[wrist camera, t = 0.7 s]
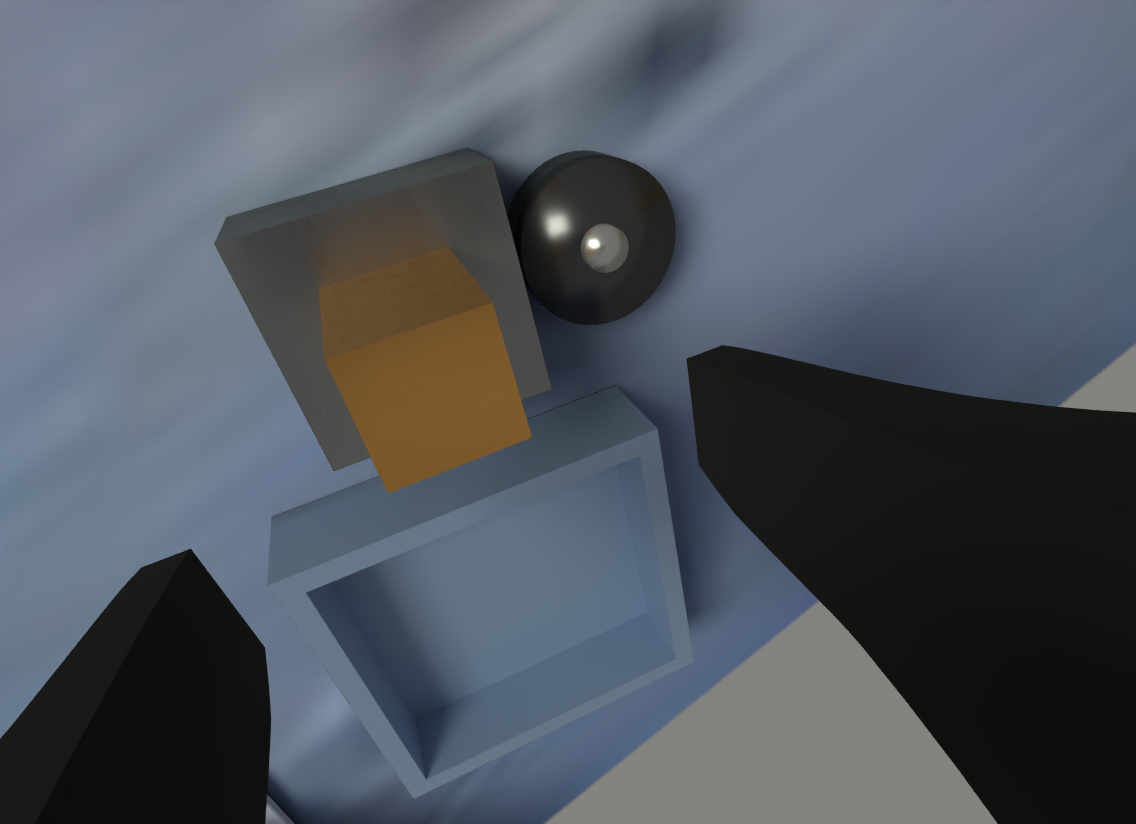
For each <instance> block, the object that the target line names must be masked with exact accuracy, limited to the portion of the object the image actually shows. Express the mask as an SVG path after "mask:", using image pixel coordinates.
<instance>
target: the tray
mask: <svg viewBox="0 0 1136 824" xmlns="http://www.w3.org/2000/svg"><path fill="white" fill-rule="evenodd" d="M527 422H528V425H529V429H530V432H531V435H532V438H530V439H527V440H524V441H522V442H519V443H517V444H514V445H512V446H509V447H506V448H504V449H501V450H499V451H496V452H494V453H491V454H489V455H486V456H483V457H481V458H478V459H476V460H473V461H471V462H468V463H465V464H463V465H460V466H458V467H455V468H453V469H450V470H447V471H445V472H442V473H440V474H437V475H435V476H432V477H429V478H427V479H424V480H422V481H419V482H417V483H414V484H411V485H409V486H406V487H404V488H401V489H399V490H396V491H394V492H391V493H388V492H387V490H386V488H385V486H384V484H383V481H382V479H381V477H380V476H378V477H376V478H373V479H370V480H368V481H365V482H362V483H360V484H357V485H355V486H352V487H349V488H347V489H344V490H342V491H339V492H336V493H334V494H331V495H329V496H326V497H323V498H321V499H318V500H315V501H313V502H310V503H308V504H305V505H302V506H300V507H297V508H295V509H292V510H289V511H287V512H284V513H282V514H279V515H276V516H274V517H272V519H271V536H270V552H269V568H268V585H267V586H268V587H269V589H270V590H271V592H272V593H273V595H274V596H275V598H276V599H277V600H278V602H279V603H280V605H281V606H282V608H283V609H284V611H285V612H286V614H287V615H288V616H289V618H290V619H291V621H292V622H293V624H294V625H295V627H296V628H297V630H298V631H299V632H300V634H301V635H302V637H303V638H304V640H305V641H306V643H307V644H308V646H309V647H310V648H311V650H312V651H313V653H314V654H315V656H316V657H317V659H318V660H319V662H320V663H321V664H322V666H323V667H324V669H325V670H326V672H327V673H328V675H329V676H330V678H331V679H332V680H333V682H334V683H335V685H336V686H337V688H338V689H339V691H340V692H341V694H342V695H343V696H344V698H345V699H346V701H347V702H348V704H349V705H350V707H351V708H352V710H353V711H354V712H355V714H356V715H357V717H358V718H359V720H360V721H361V723H362V724H363V726H364V727H365V728H366V730H367V731H368V733H369V734H370V736H371V737H372V739H373V740H374V742H375V743H376V744H377V746H378V747H379V749H380V750H381V752H382V753H383V755H384V756H385V758H386V759H387V760H388V762H389V763H390V765H391V766H392V768H393V769H394V771H395V772H396V774H397V775H398V776H399V778H400V779H401V781H402V782H403V784H404V785H405V787H406V788H407V790H408V791H409V792H410V794H411V795H412V797H413V798H414V799H415V798H417V797H419V796H421V795H423V794H425V793H427V792H429V791H431V790H433V789H435V788H437V787H439V786H441V785H443V784H445V783H447V782H449V781H451V780H453V779H456V778H458V777H460V776H462V775H464V774H466V773H468V772H470V771H472V770H474V769H476V768H478V767H480V766H482V765H484V764H486V763H488V762H490V761H492V760H494V759H496V758H499V757H501V756H503V755H505V754H507V753H509V752H511V751H513V750H515V749H517V748H519V747H521V746H523V745H525V744H527V743H529V742H531V741H533V740H535V739H537V738H539V737H542V736H544V735H546V734H548V733H550V732H552V731H554V730H556V729H558V728H560V727H562V726H564V725H566V724H568V723H570V722H572V721H574V720H576V719H578V718H580V717H582V716H584V715H587V714H589V713H591V712H593V711H595V710H597V709H599V708H601V707H603V706H605V705H607V704H609V703H611V702H613V701H615V700H617V699H619V698H621V697H623V696H625V695H627V694H630V693H632V692H634V691H636V690H638V689H640V688H642V687H644V686H646V685H648V684H650V683H652V682H654V681H656V680H658V679H660V678H662V677H664V676H666V675H668V674H670V673H673V672H675V671H677V670H679V669H681V668H683V667H685V666H687V665H689V664H691V663H693V662H694V659H693V652H692V646H691V640H690V633H689V627H688V620H687V614H686V607H685V601H684V595H683V588H682V582H681V575H680V569H679V562H678V556H677V550H676V543H675V537H674V530H673V524H672V518H671V511H670V505H669V498H668V492H667V485H666V479H665V473H664V466H663V460H662V453H661V447H660V441H659V434H658V428H657V427H656V426H655V425H654V424H653V423H652V422H651V421H650V420H649V419H648V418H647V417H646V416H645V415H644V414H643V413H642V412H641V411H640V410H639V409H638V408H637V407H636V406H635V405H634V404H633V403H632V402H631V401H630V400H629V398H628V397H627V396H626V395H625V394H624V393H623V392H622V391H621V390H620V389H619V388H618V387H617V386H613V387H611V388H608V389H605V390H603V391H600V392H597V393H595V394H592V395H590V396H587V397H584V398H582V399H579V400H577V401H574V402H571V403H569V404H566V405H564V406H561V407H558V408H556V409H553V410H550V411H548V412H545V413H543V414H540V415H537V416H535V417H532V418H530V419H527Z"/></svg>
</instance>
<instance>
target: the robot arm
mask: <svg viewBox="0 0 1136 824" xmlns="http://www.w3.org/2000/svg"><path fill="white" fill-rule="evenodd" d="M687 366H688V374H689V383H690V391H691V400H692V409H693V417H694V426H695V435H696V443H697V452H698V461H699V466H700V467H701V468H702V470H703V471H704V473H705V474H706V475H707V477H708V478H709V480H710V481H711V482H712V484H713V485H714V487H715V488H716V489H717V491H718V492H719V494H720V495H721V496H722V497H723V499H724V500H725V501H726V503H727V504H728V505H729V507H730V508H731V509H732V511H733V512H734V513H735V514H736V515H737V516H738V518H739V519H740V520H741V521H742V522H743V523H744V524H745V525H746V526H747V527H748V528H749V529H750V530H751V531H752V532H753V533H754V534H755V535H756V536H757V537H758V538H759V540H760V541H761V542H762V543H763V544H764V545H765V546H766V547H767V548H768V549H769V550H770V551H771V552H772V553H773V554H774V555H775V556H776V557H777V558H778V559H779V560H780V561H781V562H782V563H783V564H784V565H785V566H786V567H787V568H788V569H789V570H790V571H791V572H792V573H793V574H794V575H795V576H796V577H797V578H798V579H799V580H800V581H801V582H802V583H803V584H804V586H805V587H806V588H807V589H808V590H809V591H810V592H811V593H812V594H813V595H814V596H815V597H816V598H817V599H818V600H819V601H820V602H821V603H822V604H823V605H824V606H825V607H826V608H827V609H828V610H829V611H830V612H831V613H832V614H833V615H834V616H835V617H836V618H837V619H838V620H839V621H840V622H841V624H842V625H843V626H844V627H845V628H846V629H847V630H848V631H849V632H850V633H851V635H852V636H853V637H854V638H855V639H856V640H857V641H858V642H859V644H861V646H862V647H863V648H864V650H865V651H866V652H867V653H868V655H869V656H870V657H871V658H872V660H873V661H874V662H875V663H876V665H877V666H878V667H879V668H880V669H881V671H882V672H883V673H884V674H885V676H886V677H887V678H888V679H889V681H890V682H891V683H892V684H893V686H894V687H895V688H896V689H897V691H898V692H899V693H900V694H901V695H902V697H903V698H904V699H905V701H906V702H907V703H908V704H909V706H910V707H911V708H912V709H913V711H914V712H915V714H916V715H917V716H918V717H919V719H920V720H921V721H922V723H923V724H924V725H925V727H926V728H927V729H928V730H929V732H930V733H931V734H932V736H933V737H934V738H935V740H936V741H937V742H938V744H939V745H940V746H941V747H942V749H943V750H944V751H945V753H946V754H947V755H948V757H949V758H950V759H951V760H952V762H953V763H954V764H955V766H956V767H957V768H958V770H959V771H960V772H961V774H962V775H963V776H964V778H965V779H966V781H967V782H968V783H969V785H970V786H971V788H972V789H973V790H974V792H975V793H976V794H977V796H978V797H979V799H980V800H981V801H982V803H983V804H984V806H985V807H986V808H987V810H988V811H989V812H990V814H991V815H992V816H993V818H994V819H995V821H996V822H997V823H998V824H1136V413H1133V412H1132V413H1131V412H1117V411H1100V410H1087V409H1076V408H1075V409H1074V408H1064V407H1054V406H1045V405H1037V404H1028V403H1020V402H1012V401H1004V400H995V399H987V398H980V397H973V396H967V395H960V394H954V393H948V392H943V391H937V390H932V389H926V388H921V387H915V386H910V385H904V384H899V383H894V382H889V381H884V380H880V379H875V378H870V377H866V376H861V375H856V374H852V373H848V372H843V371H839V370H834V369H830V368H826V367H822V366H817V365H813V364H809V363H805V362H801V361H796V360H792V359H788V358H784V357H780V356H775V355H771V354H767V353H762V352H758V351H753V350H748V349H743V348H738V347H731V346H724V345H722V346H719V347H717V348H714V349H711V350H709V351H706V352H703V353H701V354H698V355H696V356H693V357H690V358H688V359H687ZM270 734H271V710H270V695H269V683H268V673H267V663H266V653H265V647H264V646H263V644H262V643H261V642H260V640H259V639H258V638H257V636H256V635H255V634H254V632H253V631H252V630H251V628H250V627H249V626H248V624H247V623H246V622H245V620H244V619H243V618H242V616H241V615H240V614H239V612H238V611H237V610H236V608H235V607H234V606H233V604H232V603H231V602H230V600H229V599H228V598H227V596H226V595H225V594H224V592H223V591H222V590H221V588H220V587H219V586H218V584H217V583H216V582H215V580H214V579H213V578H212V576H211V575H210V574H209V572H208V571H207V570H206V568H205V567H204V566H203V564H202V563H201V562H200V560H199V559H198V558H197V556H196V555H195V554H194V552H193V551H192V550H191V549H189V550H186V551H184V552H181V553H178V554H176V555H173V556H170V557H168V558H165V559H163V560H160V561H157V562H155V563H152V564H150V565H147V566H144V567H142V568H140V570H139V571H138V572H137V573H136V574H135V575H134V576H133V577H132V578H131V579H130V580H129V581H128V582H127V584H126V585H125V586H124V587H123V588H122V589H121V590H120V592H119V593H118V594H117V595H116V596H115V598H114V599H113V600H112V601H111V602H110V604H109V605H108V606H107V607H106V609H105V610H104V611H103V612H102V613H101V615H100V616H99V617H98V618H97V620H96V621H95V622H94V623H93V625H92V626H91V627H90V628H89V630H88V631H87V632H86V633H85V635H84V636H83V637H82V638H81V640H80V641H79V642H78V644H77V645H76V646H75V647H74V649H73V650H72V651H71V652H70V654H69V655H68V656H67V657H66V659H65V660H64V661H63V662H62V664H61V665H60V666H59V667H58V669H57V670H56V671H55V672H54V674H53V675H52V676H51V677H50V679H49V680H48V681H47V682H46V684H45V685H44V686H43V687H42V689H41V690H40V691H39V692H38V694H37V695H36V696H35V697H34V699H33V700H32V701H31V702H30V704H29V705H28V706H27V707H26V708H25V710H24V711H23V712H22V713H21V715H20V716H19V717H18V718H17V720H16V721H15V722H14V723H13V725H12V726H11V727H10V728H9V729H8V731H7V732H6V733H5V734H4V735H3V736H2V738H1V739H0V824H294V822H293V821H292V820H291V819H290V818H289V817H288V816H287V815H286V814H285V813H284V812H283V811H282V810H281V809H280V808H279V807H278V805H277V804H276V803H275V802H274V801H273V800H272V799H271V798H270V797H269V796H268V795H267V790H268V772H269V754H270Z"/></svg>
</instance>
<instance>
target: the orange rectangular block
mask: <svg viewBox="0 0 1136 824" xmlns="http://www.w3.org/2000/svg"><path fill="white" fill-rule="evenodd" d="M319 299H320V311H321V323H322V335H323V347H324V359H325V362H326V364H327V366H328V368H329V370H330V372H331V374H332V377H333V379H334V381H335V383H336V385H337V387H338V389H339V391H340V393H341V395H342V398H343V400H344V402H345V404H346V406H347V408H348V410H349V412H350V414H351V416H352V419H353V421H354V423H355V425H356V427H357V429H358V431H359V433H360V435H361V437H362V439H363V442H364V444H365V446H366V448H367V450H368V452H369V454H370V456H371V458H372V460H373V463H374V465H375V467H376V469H377V471H378V473H379V475H380V477H381V479H382V481H383V484H384V486H385V488H386V490H387V492H388V493H391V492H394V491H396V490H399V489H401V488H404V487H406V486H409V485H411V484H414V483H417V482H419V481H422V480H424V479H427V478H429V477H432V476H435V475H437V474H440V473H442V472H445V471H447V470H450V469H453V468H455V467H458V466H460V465H463V464H465V463H468V462H471V461H473V460H476V459H478V458H481V457H483V456H486V455H489V454H491V453H494V452H496V451H499V450H501V449H504V448H506V447H509V446H512V445H514V444H517V443H519V442H522V441H524V440H527V439H530V438H532V435H531V432H530V429H529V425H528V422H527V418H526V415H525V411H524V408H523V405H522V401H521V398H520V394H519V391H518V388H517V384H516V381H515V377H514V374H513V370H512V367H511V364H510V360H509V357H508V353H507V350H506V347H505V343H504V340H503V336H502V333H501V329H500V326H499V323H498V319H497V316H496V312H495V309H494V306H493V302H492V301H491V300H490V299H489V297H488V296H487V295H486V294H485V292H484V291H483V290H482V289H481V287H480V286H479V285H478V283H477V282H476V281H475V280H474V278H473V277H472V276H471V275H470V273H469V272H468V271H467V270H466V268H465V267H464V266H463V264H462V263H461V262H460V261H459V259H458V258H457V257H456V256H455V254H454V253H453V252H452V251H451V249H450V248H449V247H448V248H445V249H442V250H439V251H436V252H433V253H429V254H426V255H423V256H420V257H417V258H414V259H411V260H407V261H404V262H401V263H398V264H395V265H392V266H389V267H385V268H382V269H379V270H376V271H373V272H370V273H367V274H364V275H360V276H357V277H354V278H351V279H348V280H345V281H342V282H338V283H335V284H332V285H329V286H326V287H323V288H320V289H319Z"/></svg>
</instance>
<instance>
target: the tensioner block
mask: <svg viewBox="0 0 1136 824" xmlns="http://www.w3.org/2000/svg"><path fill="white" fill-rule="evenodd" d="M214 244H215V246H216V248H217V250H218V252H219V254H220V256H221V258H222V260H223V261H224V263H225V265H226V267H227V269H228V271H229V273H230V275H231V277H232V279H233V280H234V282H235V284H236V286H237V288H238V290H239V292H240V294H241V296H242V298H243V300H244V301H245V303H246V305H247V307H248V309H249V311H250V313H251V315H252V317H253V319H254V320H255V322H256V324H257V326H258V328H259V330H260V332H261V334H262V336H263V338H264V339H265V341H266V343H267V345H268V347H269V349H270V351H271V353H272V355H273V357H274V359H275V360H276V362H277V364H278V366H279V368H280V370H281V372H282V374H283V376H284V378H285V379H286V381H287V383H288V385H289V387H290V389H291V391H292V393H293V395H294V397H295V398H296V400H297V402H298V404H299V406H300V408H301V410H302V412H303V414H304V416H305V418H306V419H307V421H308V423H309V425H310V427H311V429H312V431H313V433H314V435H315V437H316V438H317V440H318V442H319V444H320V446H321V448H322V450H323V452H324V454H325V456H326V457H327V459H328V461H329V463H330V465H331V467H332V469H333V471H336V470H338V469H341V468H344V467H346V466H349V465H352V464H354V463H357V462H360V461H362V460H365V459H368V458H370V457H371V456H370V454H369V452H368V450H367V448H366V446H365V444H364V442H363V439H362V437H361V435H360V433H359V431H358V429H357V427H356V425H355V423H354V421H353V419H352V416H351V414H350V412H349V410H348V408H347V406H346V404H345V402H344V400H343V398H342V395H341V393H340V391H339V389H338V387H337V385H336V383H335V381H334V379H333V377H332V374H331V372H330V370H329V368H328V366H327V364H326V362H325V359H324V347H323V335H322V323H321V311H320V299H319V289H320V288H323V287H326V286H329V285H332V284H335V283H338V282H342V281H345V280H348V279H351V278H354V277H357V276H360V275H364V274H367V273H370V272H373V271H376V270H379V269H382V268H385V267H389V266H392V265H395V264H398V263H401V262H404V261H407V260H411V259H414V258H417V257H420V256H423V255H426V254H429V253H433V252H436V251H439V250H442V249H445V248H448V247H449V248H450V249H451V251H452V252H453V253H454V254H455V256H456V257H457V258H458V259H459V261H460V262H461V263H462V264H463V266H464V267H465V268H466V270H467V271H468V272H469V273H470V275H471V276H472V277H473V278H474V280H475V281H476V282H477V283H478V285H479V286H480V287H481V289H482V290H483V291H484V292H485V294H486V295H487V296H488V297H489V299H490V300H491V301H492V302H493V306H494V309H495V312H496V316H497V319H498V323H499V326H500V329H501V333H502V336H503V340H504V343H505V347H506V350H507V353H508V357H509V360H510V364H511V367H512V370H513V374H514V377H515V381H516V384H517V388H518V391H519V394H520V398H521V401H522V400H524V399H527V398H530V397H532V396H535V395H538V394H540V393H543V392H546V391H548V390H551V389H552V388H551V384H550V380H549V376H548V372H547V369H546V365H545V361H544V357H543V353H542V349H541V345H540V341H539V338H538V334H537V330H536V326H535V322H534V318H533V314H532V310H531V307H530V303H529V299H528V295H527V291H526V288H527V289H528V290H529V291H530V292H531V293H532V294H533V295H534V296H535V297H536V298H537V299H538V300H539V301H540V303H541V304H542V305H543V306H544V307H546V308H547V309H548V310H549V311H550V312H552V313H553V314H555V315H556V316H558V317H560V318H562V319H564V320H567V321H569V322H573V323H577V324H584V325H597V324H603V323H608V322H611V321H615V320H617V319H619V318H622V317H624V316H626V315H628V314H629V313H631V312H633V311H634V310H635V309H637V308H638V307H639V306H641V305H642V304H643V303H644V302H645V301H646V300H647V299H648V298H649V297H650V296H651V295H652V294H653V292H654V291H655V290H656V288H657V287H658V286H659V284H660V283H661V281H662V279H663V277H664V275H665V274H666V271H667V269H668V266H669V264H670V261H671V258H672V254H673V249H674V244H675V221H674V215H673V210H672V207H671V204H670V201H669V199H668V197H667V195H666V193H665V191H664V189H663V188H662V186H661V185H660V184H659V182H658V181H657V180H656V179H655V178H654V177H653V176H652V175H651V174H650V173H649V172H647V171H646V170H645V169H643V168H641V167H640V166H638V165H636V164H634V163H631V162H629V161H626V160H622V159H619V158H616V157H613V156H610V155H606V154H603V153H599V152H595V151H585V150H583V151H573V152H568V153H564V154H561V155H559V156H556V157H554V158H552V159H550V160H548V161H546V162H545V163H543V164H542V165H541V166H539V167H538V168H537V169H536V170H535V171H534V172H532V173H531V174H530V175H529V176H528V178H527V179H526V180H525V181H524V183H523V184H522V185H521V187H520V189H519V190H518V192H517V193H516V195H515V198H514V200H513V202H512V204H511V207H510V211H509V214H508V217H507V213H506V210H505V206H504V202H503V198H502V194H501V190H500V186H499V182H498V179H497V175H496V171H495V167H494V163H493V161H491V160H490V159H488V158H486V157H484V156H482V155H480V154H478V153H476V152H474V151H473V150H471V149H469V148H465V149H461V150H458V151H454V152H451V153H448V154H444V155H441V156H437V157H434V158H430V159H427V160H423V161H420V162H416V163H413V164H409V165H406V166H402V167H399V168H396V169H392V170H389V171H385V172H382V173H378V174H375V175H371V176H368V177H364V178H361V179H357V180H354V181H351V182H347V183H344V184H340V185H337V186H333V187H330V188H326V189H323V190H319V191H316V192H312V193H309V194H306V195H302V196H299V197H295V198H292V199H288V200H285V201H281V202H278V203H274V204H271V205H267V206H264V207H261V208H257V209H254V210H250V211H247V212H243V213H240V214H236V215H233V216H229V217H226V219H225V222H224V224H223V226H222V228H221V230H220V232H219V235H218V237H217V239H216V241H215V243H214Z"/></svg>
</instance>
